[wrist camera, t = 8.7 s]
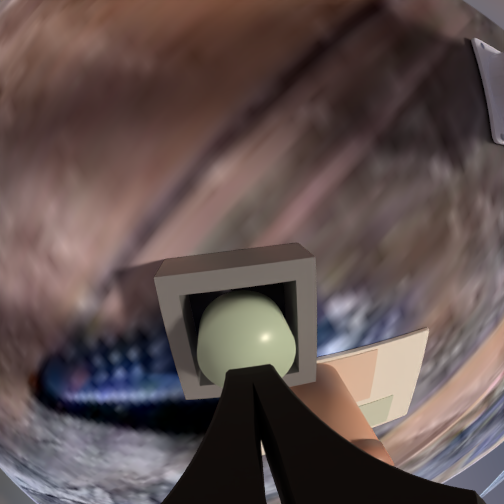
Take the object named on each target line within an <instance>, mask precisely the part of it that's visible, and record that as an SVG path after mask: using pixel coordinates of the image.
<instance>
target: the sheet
mask: <svg viewBox="0 0 504 504" xmlns="http://www.w3.org/2000/svg"><path fill="white" fill-rule="evenodd" d="M428 333H429V329H428V328H427V327H426V328H423V329H420V330H417V331H414V332H411V333H408V334H405V335H402V336H398V337H395V338H392V339H388V340H385V341H381V342H378V343H374V344H370V345H367V346H363V347H359V348H355V349H351V350H347V351H343V352H339V353H335V354H330V355H326V356H321V357H317V362H316V364H317V363H323V364H328V365H331V366H332V367H334V368H335V369H336V370H337V372H338V374H339V375H340V377H341V379H342V380H343V382H344V384H345V385H346V387H347V388H348V390H349V392H350V393H351V395H352V397H353V398H354V400H355V402H356V403H357V405H358V407H359V408H360V410H361V412H362V413H363V415H364V417H365V418H366V420H367V422H368V423H369V425H370V427H371V428H373V427H376V426H378V425H381V424H384V423H386V422H389V421H392V420H394V419H397V418H399V417H402V416H404V415H406V414H407V411H408V408H409V405H410V402H411V399H412V396H413V393H414V389H415V386H416V382H417V379H418V375H419V372H420V368H421V364H422V360H423V356H424V352H425V347H426V343H427V338H428ZM261 449H262V455H265V452H264V448H263V445H262V442H261Z"/></svg>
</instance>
